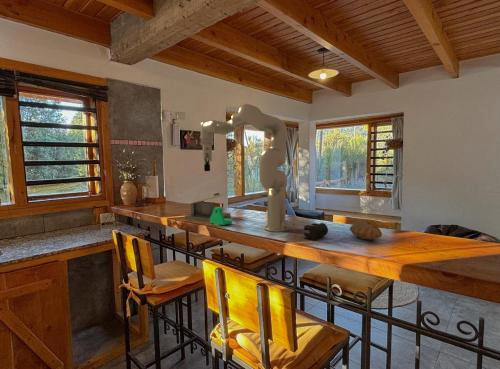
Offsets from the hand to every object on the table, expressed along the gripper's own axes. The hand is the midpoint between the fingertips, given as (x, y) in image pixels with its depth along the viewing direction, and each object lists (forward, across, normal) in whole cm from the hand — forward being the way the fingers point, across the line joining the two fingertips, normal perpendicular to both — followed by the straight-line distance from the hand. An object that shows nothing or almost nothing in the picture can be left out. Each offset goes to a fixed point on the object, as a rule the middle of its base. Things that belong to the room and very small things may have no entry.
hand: (207, 170), depth 171 cm
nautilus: (+30, -57, -73) cm, 97 cm away
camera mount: (+31, -12, -8) cm, 34 cm away
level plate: (+19, +9, -1) cm, 21 cm away
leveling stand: (+31, +9, -1) cm, 32 cm away
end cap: (+30, -53, -48) cm, 78 cm away
